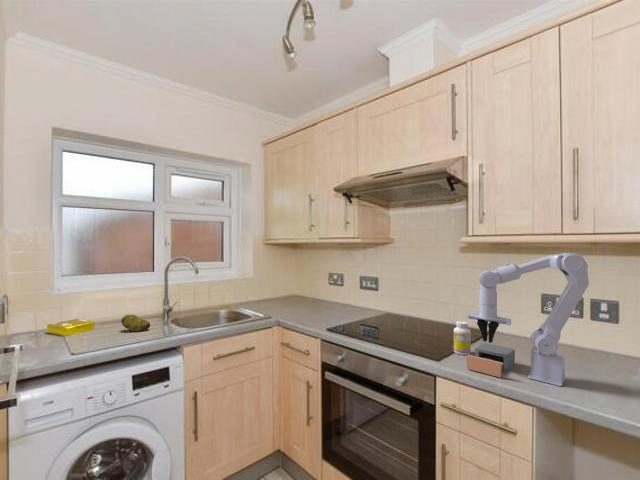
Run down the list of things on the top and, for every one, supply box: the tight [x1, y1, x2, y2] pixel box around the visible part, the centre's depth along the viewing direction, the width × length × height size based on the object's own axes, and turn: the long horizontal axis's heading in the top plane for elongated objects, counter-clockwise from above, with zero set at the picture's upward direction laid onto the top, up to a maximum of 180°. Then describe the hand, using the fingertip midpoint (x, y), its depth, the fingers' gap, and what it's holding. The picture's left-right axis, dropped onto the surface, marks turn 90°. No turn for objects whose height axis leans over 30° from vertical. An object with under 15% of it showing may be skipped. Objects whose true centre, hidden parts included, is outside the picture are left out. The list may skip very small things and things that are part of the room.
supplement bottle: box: [453, 320, 472, 356], centre depth 139 cm, size 7×7×13 cm
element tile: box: [46, 318, 95, 337], centre depth 166 cm, size 15×15×5 cm
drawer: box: [466, 354, 504, 378], centre depth 120 cm, size 11×10×5 cm
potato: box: [120, 314, 151, 332], centre depth 168 cm, size 8×13×8 cm, turn 79°
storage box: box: [474, 342, 516, 373], centre depth 126 cm, size 11×10×6 cm
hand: (487, 341), depth 120 cm, fingers closed
